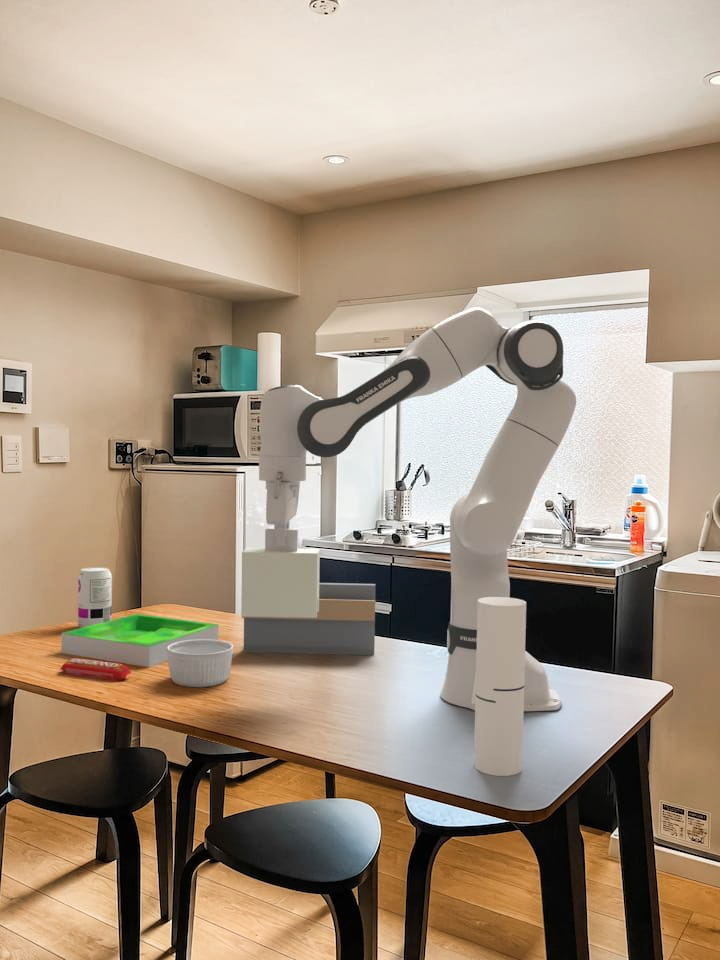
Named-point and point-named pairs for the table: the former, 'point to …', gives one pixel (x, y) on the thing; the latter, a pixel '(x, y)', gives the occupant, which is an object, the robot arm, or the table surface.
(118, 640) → the tray
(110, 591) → the supplement can
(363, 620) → the wall board
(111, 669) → the candy bar
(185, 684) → the ramekin
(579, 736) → the table surface
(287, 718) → the table surface
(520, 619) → the cylindrical container
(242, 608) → the off-white handled block
